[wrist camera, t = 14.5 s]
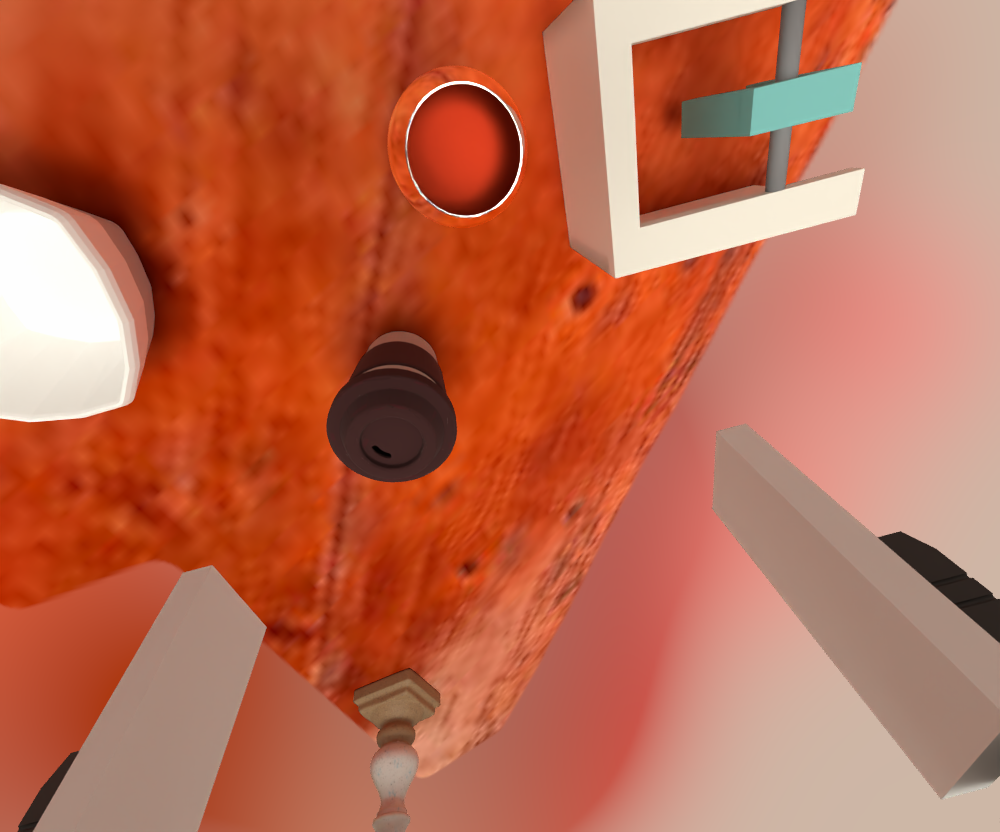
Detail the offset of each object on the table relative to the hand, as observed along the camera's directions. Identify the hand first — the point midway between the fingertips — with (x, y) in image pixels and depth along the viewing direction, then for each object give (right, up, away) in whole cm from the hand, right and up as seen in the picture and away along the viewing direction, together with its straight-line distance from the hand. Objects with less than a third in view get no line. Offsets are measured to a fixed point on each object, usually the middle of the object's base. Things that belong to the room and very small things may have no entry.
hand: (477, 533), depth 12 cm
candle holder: (-17, -45, +66) cm, 81 cm away
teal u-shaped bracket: (+18, +27, +23) cm, 39 cm away
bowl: (-36, +15, +27) cm, 47 cm away
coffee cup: (-10, +9, +34) cm, 37 cm away
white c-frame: (+14, +28, +26) cm, 41 cm away
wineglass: (-4, +25, +25) cm, 36 cm away
